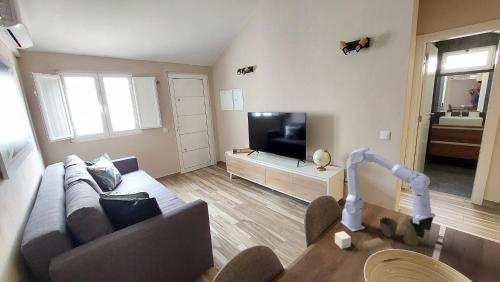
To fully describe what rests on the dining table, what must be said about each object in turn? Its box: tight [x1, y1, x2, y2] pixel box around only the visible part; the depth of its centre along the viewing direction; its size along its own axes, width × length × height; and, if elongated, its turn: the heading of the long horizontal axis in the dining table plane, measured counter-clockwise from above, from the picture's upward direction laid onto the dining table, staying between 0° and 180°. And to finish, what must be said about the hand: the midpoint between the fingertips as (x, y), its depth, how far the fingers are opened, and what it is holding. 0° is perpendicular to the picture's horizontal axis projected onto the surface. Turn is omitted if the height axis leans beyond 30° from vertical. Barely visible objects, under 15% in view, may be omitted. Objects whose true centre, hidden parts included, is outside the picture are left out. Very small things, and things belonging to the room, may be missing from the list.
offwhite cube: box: [334, 230, 352, 250], centre depth 102 cm, size 5×5×5 cm
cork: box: [402, 218, 419, 247], centre depth 100 cm, size 6×6×11 cm
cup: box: [379, 216, 399, 238], centre depth 106 cm, size 8×7×8 cm
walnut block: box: [362, 237, 394, 255], centre depth 96 cm, size 9×9×3 cm
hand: (423, 233), depth 91 cm, fingers open, 7 cm apart
